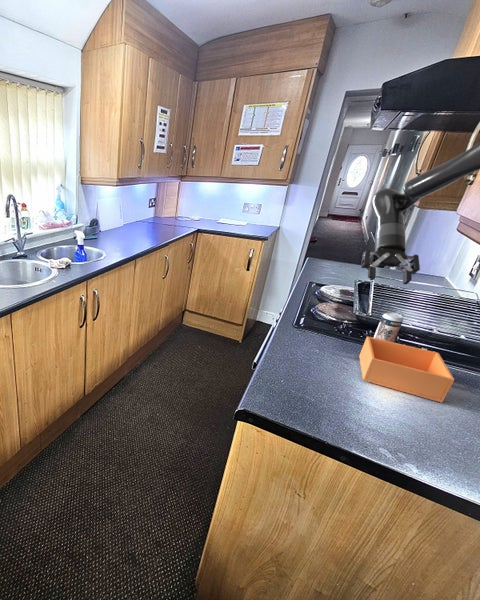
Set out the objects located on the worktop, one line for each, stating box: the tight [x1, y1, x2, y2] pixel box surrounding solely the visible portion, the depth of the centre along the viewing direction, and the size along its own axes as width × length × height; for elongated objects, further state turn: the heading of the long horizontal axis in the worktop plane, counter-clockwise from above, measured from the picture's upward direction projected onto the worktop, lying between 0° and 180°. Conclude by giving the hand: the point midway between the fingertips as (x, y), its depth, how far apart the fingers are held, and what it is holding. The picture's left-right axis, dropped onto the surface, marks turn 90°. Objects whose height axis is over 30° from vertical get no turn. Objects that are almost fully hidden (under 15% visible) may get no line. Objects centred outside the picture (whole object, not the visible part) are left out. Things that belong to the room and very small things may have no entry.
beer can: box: [373, 311, 404, 343], centre depth 101 cm, size 5×5×12 cm
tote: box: [358, 336, 455, 404], centre depth 88 cm, size 15×15×7 cm
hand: (389, 281), depth 106 cm, fingers open, 8 cm apart
